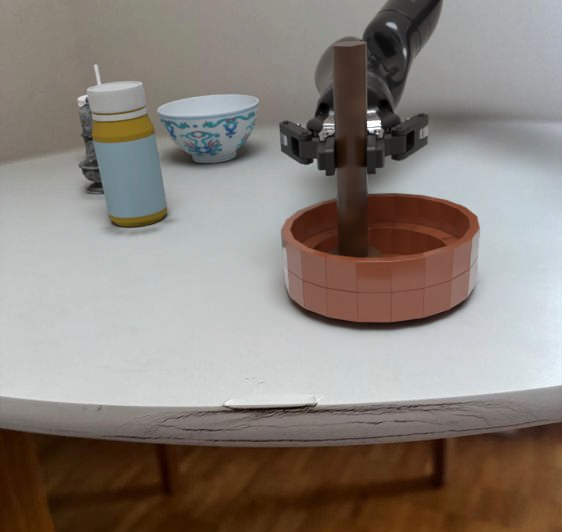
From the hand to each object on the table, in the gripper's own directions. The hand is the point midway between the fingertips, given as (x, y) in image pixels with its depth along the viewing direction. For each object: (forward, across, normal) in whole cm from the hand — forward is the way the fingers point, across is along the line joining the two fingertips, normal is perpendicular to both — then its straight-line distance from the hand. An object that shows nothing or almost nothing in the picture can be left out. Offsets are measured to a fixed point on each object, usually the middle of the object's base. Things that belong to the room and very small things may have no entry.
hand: (349, 162), depth 54 cm
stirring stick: (-3, 0, -10) cm, 10 cm away
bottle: (-24, +26, -12) cm, 38 cm away
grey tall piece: (-38, +35, -12) cm, 53 cm away
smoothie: (-52, +39, -13) cm, 66 cm away
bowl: (-3, -2, -12) cm, 13 cm away
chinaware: (-52, +22, -13) cm, 58 cm away
